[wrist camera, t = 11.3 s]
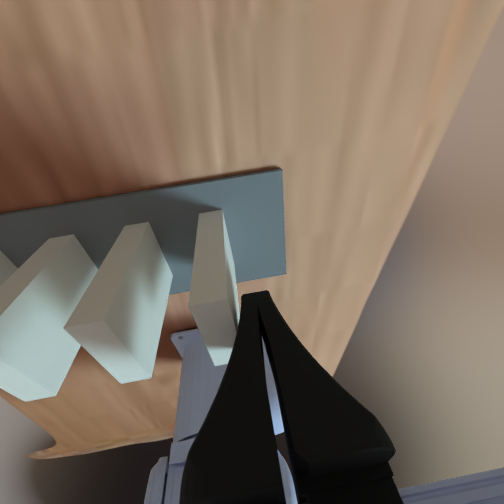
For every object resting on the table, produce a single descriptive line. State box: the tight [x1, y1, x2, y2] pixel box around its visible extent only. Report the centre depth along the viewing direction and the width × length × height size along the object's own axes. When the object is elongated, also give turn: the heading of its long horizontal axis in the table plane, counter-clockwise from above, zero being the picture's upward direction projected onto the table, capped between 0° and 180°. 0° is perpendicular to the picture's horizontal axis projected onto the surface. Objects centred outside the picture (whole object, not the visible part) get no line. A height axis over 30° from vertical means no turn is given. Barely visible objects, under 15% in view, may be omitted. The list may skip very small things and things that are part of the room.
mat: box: [0, 168, 286, 295], centre depth 17 cm, size 27×9×1 cm, turn 97°
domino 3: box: [188, 210, 240, 366], centre depth 14 cm, size 2×5×8 cm, turn 7°
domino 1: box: [0, 234, 98, 401], centre depth 14 cm, size 2×5×8 cm, turn 7°
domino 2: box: [63, 222, 173, 384], centre depth 14 cm, size 2×5×8 cm, turn 6°
